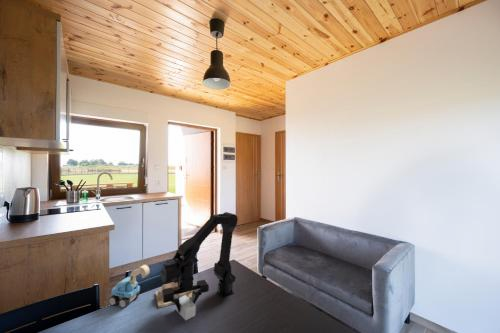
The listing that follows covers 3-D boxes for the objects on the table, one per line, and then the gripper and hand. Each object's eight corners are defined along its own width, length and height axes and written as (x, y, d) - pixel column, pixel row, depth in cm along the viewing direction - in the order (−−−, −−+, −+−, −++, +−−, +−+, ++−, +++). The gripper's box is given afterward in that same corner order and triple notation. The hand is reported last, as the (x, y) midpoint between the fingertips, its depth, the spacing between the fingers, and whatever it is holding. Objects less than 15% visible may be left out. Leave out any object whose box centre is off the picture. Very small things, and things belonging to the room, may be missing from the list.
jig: (188, 285, 113) (188, 280, 113) (194, 298, 102) (194, 292, 102) (155, 293, 105) (155, 287, 105) (158, 308, 94) (158, 301, 94)
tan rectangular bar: (185, 288, 108) (185, 279, 108) (187, 293, 104) (187, 284, 104) (162, 294, 103) (162, 284, 103) (163, 299, 99) (163, 289, 99)
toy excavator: (139, 311, 92) (140, 271, 92) (106, 305, 95) (107, 266, 95) (152, 299, 100) (153, 262, 100) (121, 294, 104) (122, 258, 104)
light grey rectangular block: (175, 309, 94) (175, 299, 94) (185, 305, 97) (185, 295, 97) (185, 320, 87) (185, 309, 87) (195, 315, 90) (195, 304, 90)
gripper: (202, 262, 104) (201, 294, 104) (160, 270, 95) (159, 305, 95) (209, 272, 94) (208, 307, 94) (164, 282, 85) (163, 321, 85)
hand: (185, 309), depth 92 cm, fingers closed on light grey rectangular block, 5 cm apart
